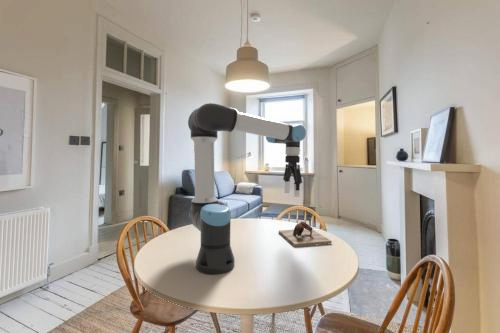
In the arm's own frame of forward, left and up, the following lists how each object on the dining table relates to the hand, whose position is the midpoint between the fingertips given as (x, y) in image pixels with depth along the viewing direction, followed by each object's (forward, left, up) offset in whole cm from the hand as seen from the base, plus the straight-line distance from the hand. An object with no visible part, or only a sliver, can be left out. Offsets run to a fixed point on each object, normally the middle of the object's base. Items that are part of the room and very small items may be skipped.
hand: (291, 194), depth 128 cm
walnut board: (-2, -6, -23) cm, 24 cm away
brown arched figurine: (-3, -5, -22) cm, 23 cm away
